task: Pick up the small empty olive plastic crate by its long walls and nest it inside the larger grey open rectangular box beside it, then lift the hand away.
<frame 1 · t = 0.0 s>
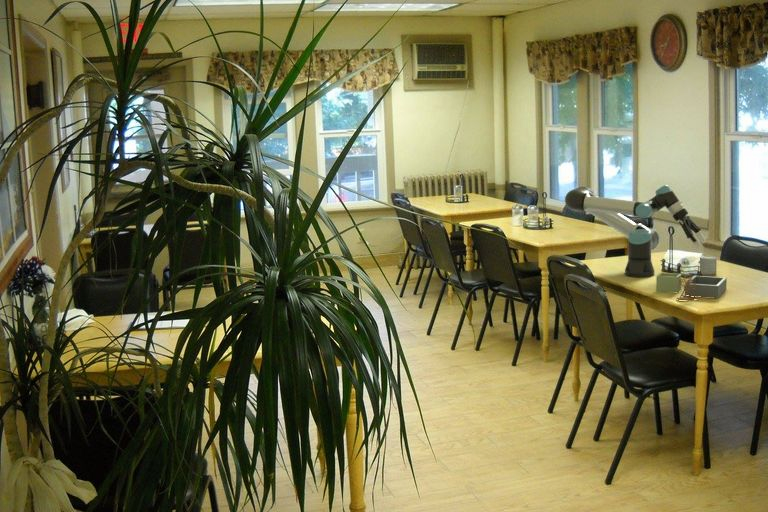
hand: (702, 244, 466), 15 cm above the table, tool tilted 35°, fingers open, 13 cm apart
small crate: (668, 291, 433), on the table
grey open rectangular box: (705, 292, 425), on the table
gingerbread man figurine: (687, 300, 413), on the table
medicine box: (707, 274, 467), on the table
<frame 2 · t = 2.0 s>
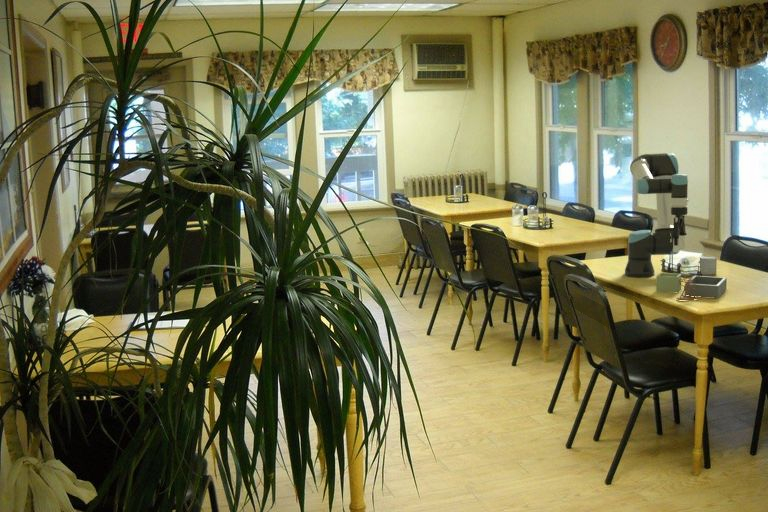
hand: (679, 250, 431), 19 cm above the table, tool pointing down, fingers open, 13 cm apart
nothing on the table moved.
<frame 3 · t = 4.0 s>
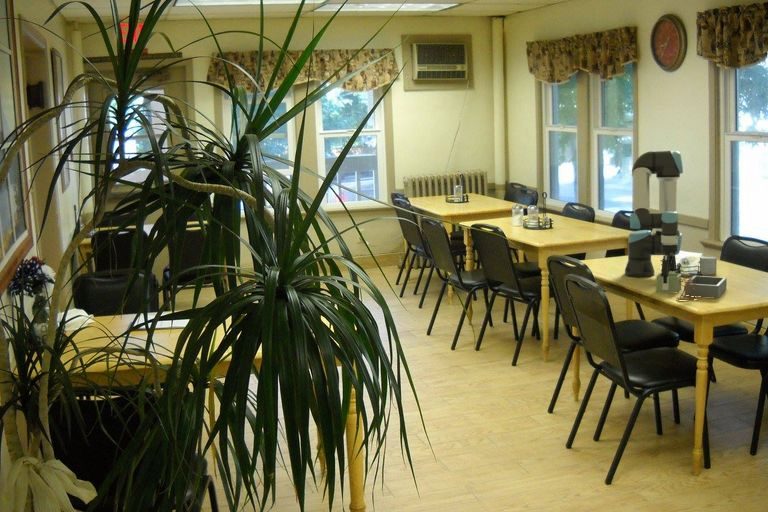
hand: (668, 287, 432), 2 cm above the table, tool pointing down, fingers open, 13 cm apart
nothing on the table moved.
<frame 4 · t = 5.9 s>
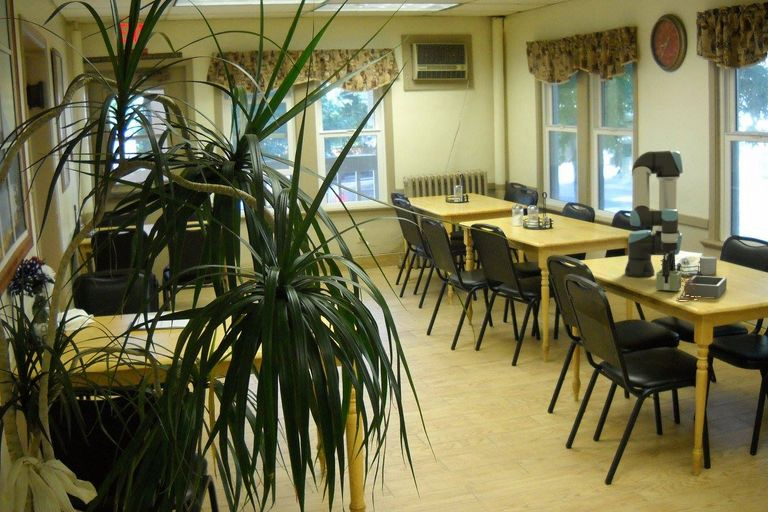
hand: (668, 287, 433), 2 cm above the table, tool pointing down, fingers closed on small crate, 8 cm apart
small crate: (668, 288, 433), point 1 cm above the table, touching gripper
everything else where it was.
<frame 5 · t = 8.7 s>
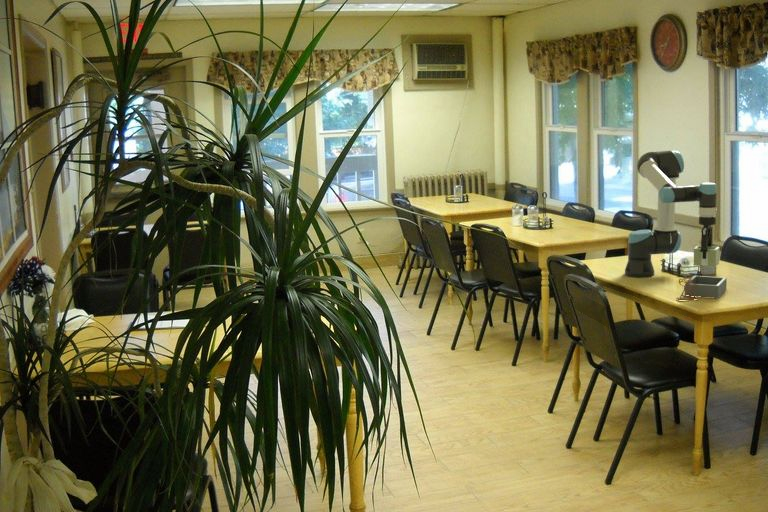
hand: (706, 263, 423), 14 cm above the table, tool pointing down, fingers closed on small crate, 8 cm apart
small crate: (706, 264, 423), point 14 cm above the table, touching gripper
everything else where it was.
when the fingers open (2 cm above the table, at t = 11.5 s): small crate stays where it is, resting on grey open rectangular box.
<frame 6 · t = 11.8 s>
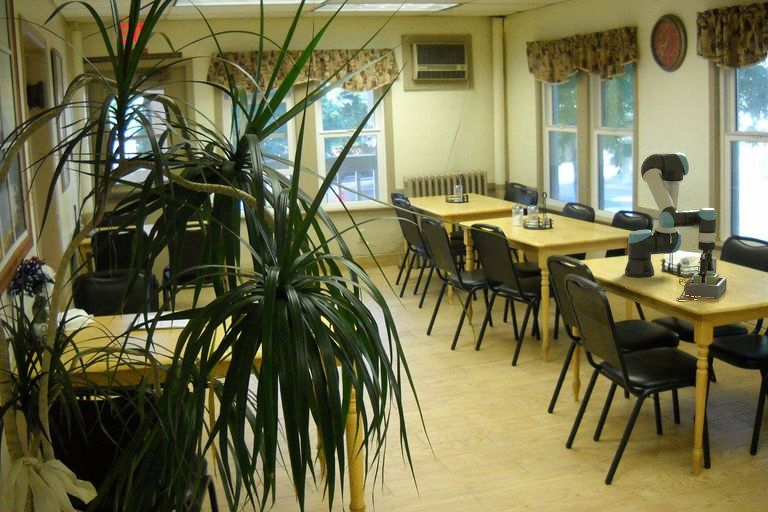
hand: (705, 286, 425), 3 cm above the table, tool pointing down, fingers open, 11 cm apart
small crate: (705, 290, 425), point 1 cm above the table, touching grey open rectangular box
everything else where it was.
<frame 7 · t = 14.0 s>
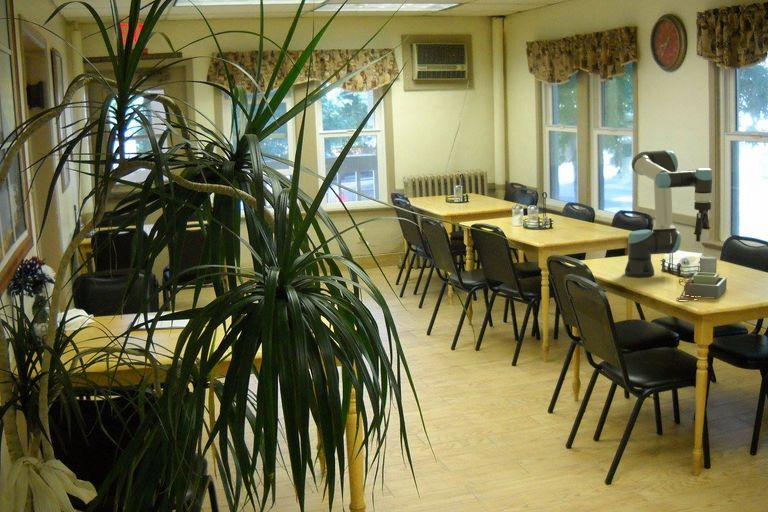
hand: (701, 245, 428), 22 cm above the table, tool pointing down, fingers open, 13 cm apart
nothing on the table moved.
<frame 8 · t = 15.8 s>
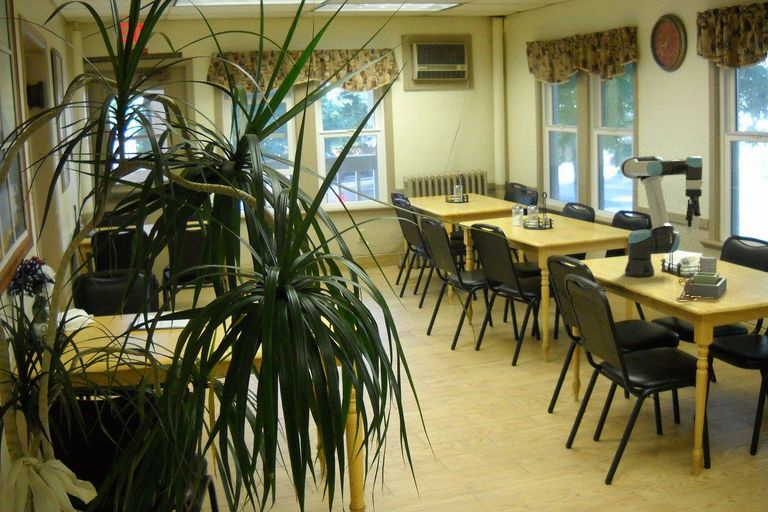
hand: (692, 231, 440), 27 cm above the table, tool pointing down, fingers open, 13 cm apart
nothing on the table moved.
at the end: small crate 0.1 cm off-centre on the grey open rectangular box, point 1.0 cm above the grey open rectangular box's base; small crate tilted 0°; the gripper is holding nothing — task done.
